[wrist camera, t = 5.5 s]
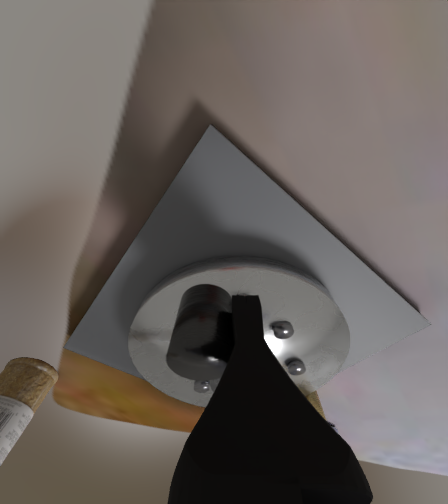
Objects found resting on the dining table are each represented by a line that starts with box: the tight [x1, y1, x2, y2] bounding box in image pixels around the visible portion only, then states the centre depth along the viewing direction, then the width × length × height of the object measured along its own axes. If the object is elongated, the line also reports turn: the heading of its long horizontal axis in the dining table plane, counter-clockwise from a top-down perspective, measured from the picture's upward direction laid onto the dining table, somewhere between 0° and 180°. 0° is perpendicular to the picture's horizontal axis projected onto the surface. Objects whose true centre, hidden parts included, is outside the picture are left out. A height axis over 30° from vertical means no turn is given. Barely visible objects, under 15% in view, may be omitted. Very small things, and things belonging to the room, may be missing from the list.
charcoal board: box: [63, 124, 431, 381], centre depth 17 cm, size 20×20×1 cm
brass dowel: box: [305, 391, 326, 420], centre depth 18 cm, size 1×1×4 cm
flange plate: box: [128, 256, 350, 407], centre depth 14 cm, size 16×15×5 cm
